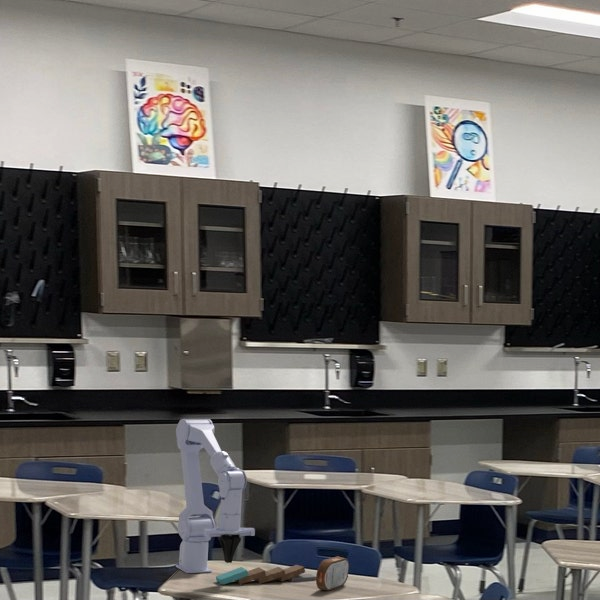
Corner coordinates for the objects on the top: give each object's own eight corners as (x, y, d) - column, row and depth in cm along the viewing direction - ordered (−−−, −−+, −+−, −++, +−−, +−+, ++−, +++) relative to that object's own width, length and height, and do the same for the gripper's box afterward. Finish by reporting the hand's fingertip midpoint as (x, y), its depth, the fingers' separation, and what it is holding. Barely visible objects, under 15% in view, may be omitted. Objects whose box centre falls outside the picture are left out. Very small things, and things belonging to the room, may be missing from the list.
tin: (340, 583, 333) (342, 553, 334) (350, 584, 332) (351, 555, 332) (314, 591, 320) (315, 561, 321) (324, 593, 319) (325, 562, 319)
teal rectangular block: (216, 581, 327) (242, 572, 330) (222, 585, 323) (248, 575, 326) (215, 576, 326) (241, 566, 330) (221, 579, 322) (247, 570, 326)
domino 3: (280, 576, 330) (304, 567, 334) (273, 573, 334) (296, 564, 338) (281, 581, 330) (305, 572, 334) (274, 578, 334) (297, 569, 338)
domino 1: (238, 579, 324) (264, 570, 328) (233, 575, 329) (259, 567, 332) (240, 584, 325) (265, 575, 328) (234, 581, 329) (260, 572, 332)
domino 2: (258, 578, 327) (284, 570, 330) (253, 575, 331) (278, 566, 334) (259, 583, 327) (285, 575, 330) (254, 580, 331) (279, 572, 334)
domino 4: (292, 578, 332) (317, 576, 335) (285, 575, 336) (310, 573, 339) (291, 583, 332) (316, 582, 335) (285, 580, 336) (310, 579, 339)
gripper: (211, 516, 319) (209, 566, 319) (260, 515, 325) (257, 563, 325) (202, 512, 325) (200, 560, 325) (250, 511, 332) (247, 558, 331)
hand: (228, 562), depth 325 cm, fingers closed
